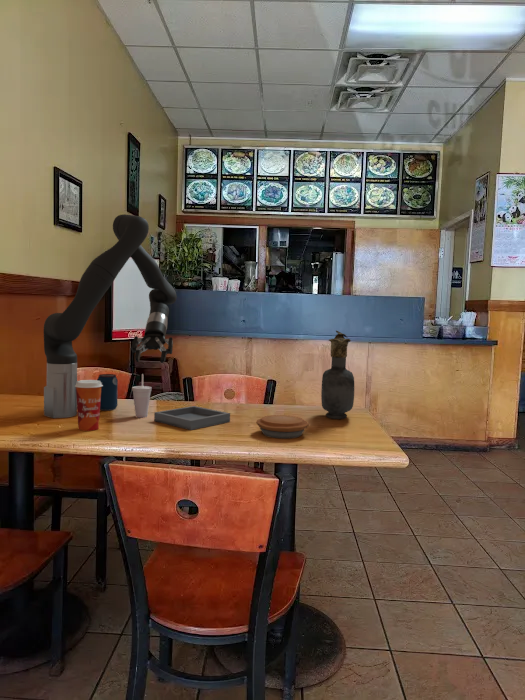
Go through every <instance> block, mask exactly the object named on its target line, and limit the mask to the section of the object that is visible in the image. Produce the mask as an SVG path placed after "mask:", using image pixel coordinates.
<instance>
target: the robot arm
mask: <svg viewBox="0 0 525 700" xmlns="http://www.w3.org/2000/svg"><path fill="white" fill-rule="evenodd" d="M112 230H113V234H114V236H115V237H116V238H117V242H116V243H115V244H114V245H113V246H111V247H110V248H108V249H107V250H105V251H104V252H102V253H101V254H99V255H98V256H96V257H95V258H94V259H93V260H92V261H91V262H90V264H89V265H88V266H87V268H86V269H85V271H84V272H83V274H82V275H81V277H80V280H79V282H78V286H77V290H76V294H75V296H74V297H73V299H72V301H71V302H70V303H69V305H68V306H67V307H66V308H65V310H63V312H55V313H52V314H49V315H48V316H47V318H46V319H45V321H44V323H43V350H44V351H43V352H44V355H45V357H46V385H44V387H43V416H44V417H48V418H50V419H59V418H60V419H62V418H64V419H65V418H70V417H71V418H72V417H75V416H78V414H77V396H76V387H75V385H76V382H77V381H78V355H77V353H76V352H75V350H74V347H73V341H75V340H76V339H78V337H79V336H80V335H81V333H82V331H83V330H84V328H85V326H86V324H87V322H88V320H89V318H90V317H91V315H92V313H93V311H94V310H95V308H96V307H97V305H98V304H99V303H100V301H101V300H102V298H103V296H104V295H105V294H106V293H107V291H108V290H109V289H110V287H111V286H112V284H113V283H114V281H115V279H116V278H117V277H118V275H119V273H120V272H121V270H122V269H123V267H125V265H126V263H127V262H128V261H129V260H130V258H131V259H132V261H133V262H134V264H135V265H136V267H137V269H138V270H139V272H140V275H141V276H142V279H143V280H144V282H145V285H146V286H147V287H148V288H149V289H151V290H150V291H149V292H148V293H149V294H148V299H149V307H150V308H149V315H148V317H147V321H146V325H145V330H144V334H143V337H142V338H141V337H138V336H136V335H135V336H134V337H133V341H132V344H131V348H130V349H131V352H132V353H133V354H134V360H135V362H136V363H140V359H141V354H142V353H143V352H146V351H147V350H148V351H149V350H151V351H152V350H153V351H157V350H159V351H160V352H161V353H160V354H161V355H160V363H161V364H163V363H164V362H166V358H167V356H168V355H172V354H173V350H174V349H173V347H174V341H173V337H172V336H171V337H169V338H166V334H167V329H168V319H169V313H170V308H169V306H168V305H172V304H174V303H176V301H177V298H178V296H177V293H176V292H177V291H176V290H175V288H174V287H173V286H172V284H171V283H169V281H168V280H167V279H166V278H165V277H164V275H163V273H162V271H161V268H160V266H159V264H158V263H157V261H155V259H154V258H153V257H152V256H151V254H149V252H147V250H146V249H145V248H144V247H143V245H142V243H144V241H145V240H146V238H147V237H148V234H149V230H150V228H149V222H148V220H147V219H145V218H144V217H142V216H139V215H133V214H132V215H131V214H126V213H125V214H124V213H123V214H119V215H117V216H115V218H114V220H113V221H112ZM165 344H167V345H168V346H167V348H166V347H165V346H164V345H165ZM138 345H139V346H138Z"/></svg>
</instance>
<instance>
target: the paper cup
mask: <svg viewBox="0 0 525 700" xmlns="http://www.w3.org/2000/svg"><path fill="white" fill-rule="evenodd" d="M102 386H103V385H102V384H101V381H98V380H97V379H81V380H77V382H76V385H75V387H76V396H77V427H78V430H79V431H81V432H91V431H97V430H99V425H100V415H101V414H100V412H101V410H100V401H101V387H102Z"/></svg>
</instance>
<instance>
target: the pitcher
mask: <svg viewBox="0 0 525 700" xmlns="http://www.w3.org/2000/svg"><path fill="white" fill-rule="evenodd" d="M335 332H336V333H337V334H336V335H335V337H334V338H330V339H328V341H329V342H330V357H331V365H330V367H331V368H328V369H326V370H325V371H324V372H323V374H322V378H321V391H320V392H321V394H320V395H321V398H320V399H321V406H322V409H323V410H324V411H326V413H325V416H326V417H327V418H328V419H333V420H343V419H344V420H345V419H346V418H347V417H348V415H347V414H346V413H348V412H350V411H351V410H352V409H353V408H354V402H355V376H354V374H353V372H352V371H351V370H348V369H347V368H346V367H347V366H346V364H347V357H348V345H349V343H350V342H351V341H352V340H351V338H348V336H347V334H345V333H343V332H341V331H339V330H335Z"/></svg>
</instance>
